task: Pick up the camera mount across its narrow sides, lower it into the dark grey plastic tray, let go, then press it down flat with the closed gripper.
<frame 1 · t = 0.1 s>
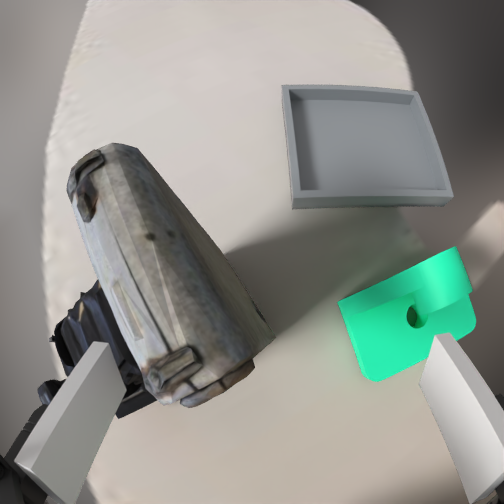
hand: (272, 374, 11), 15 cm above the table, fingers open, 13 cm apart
camera mount: (405, 318, 26), on the table
tray: (362, 147, 31), on the table
vintage camera: (178, 340, 27), on the table
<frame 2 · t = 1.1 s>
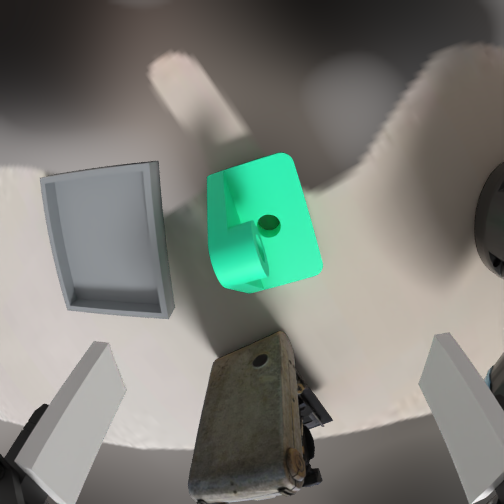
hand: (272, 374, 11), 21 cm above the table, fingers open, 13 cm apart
camera mount: (269, 218, 31), on the table
tray: (108, 240, 33), on the table
vintage camera: (278, 379, 38), on the table
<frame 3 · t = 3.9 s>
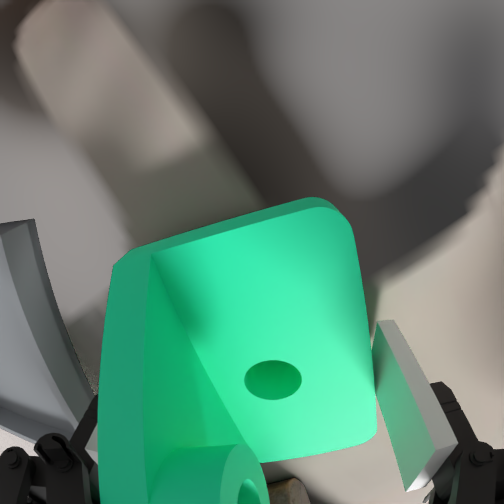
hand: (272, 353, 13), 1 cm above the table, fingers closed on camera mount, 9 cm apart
camera mount: (272, 338, 14), on the table, touching gripper
tray: (4, 344, 15), on the table
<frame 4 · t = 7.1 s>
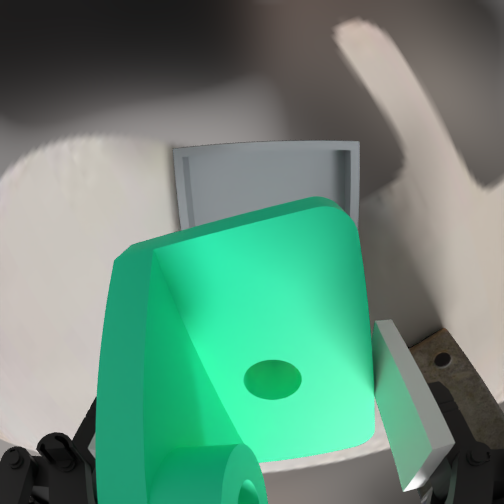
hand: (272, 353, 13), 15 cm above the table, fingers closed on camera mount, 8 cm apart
camera mount: (272, 337, 14), point 14 cm above the table, touching gripper
tray: (270, 237, 27), on the table
vintage camera: (423, 377, 33), on the table
when the fingers open (3 cm above the table, at t = 10.2 s): camera mount drops 2 cm, resting on tray.
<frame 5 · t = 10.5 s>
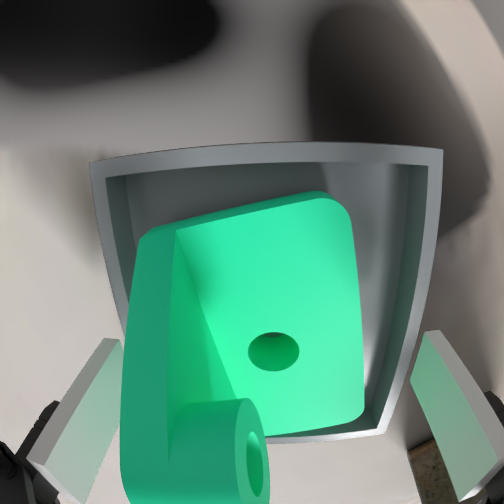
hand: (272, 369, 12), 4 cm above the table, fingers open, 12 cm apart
camera mount: (273, 317, 15), resting on tray
tray: (272, 311, 16), on the table
vintage camera: (458, 449, 21), on the table
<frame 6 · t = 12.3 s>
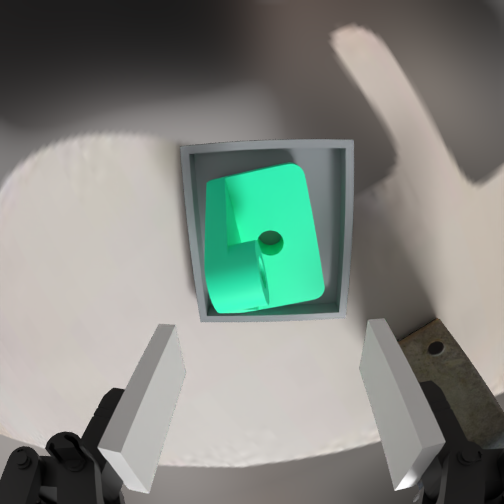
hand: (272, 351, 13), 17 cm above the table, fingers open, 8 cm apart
camera mount: (270, 232, 28), resting on tray
tray: (270, 230, 29), on the table
vintage camera: (418, 368, 34), on the table
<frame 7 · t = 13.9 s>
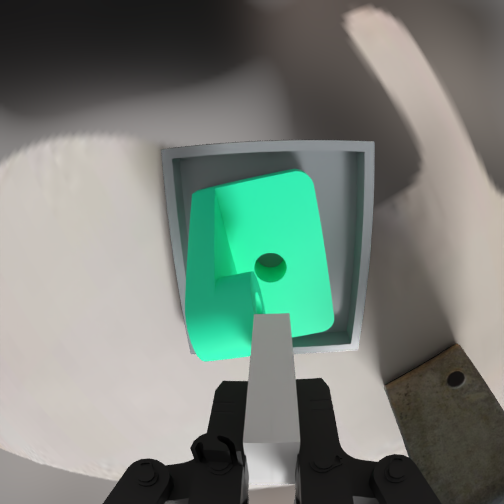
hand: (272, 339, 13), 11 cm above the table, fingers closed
camera mount: (270, 253, 24), resting on tray
tray: (272, 249, 24), on the table
vintage camera: (432, 393, 30), on the table
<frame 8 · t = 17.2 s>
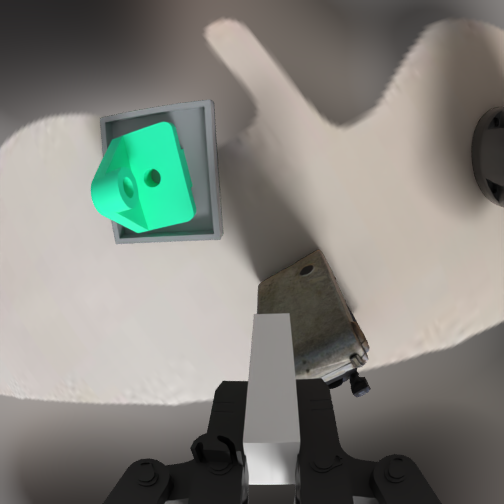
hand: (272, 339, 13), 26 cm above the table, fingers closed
camera mount: (159, 175, 37), resting on tray
tray: (163, 173, 37), on the table
vintage camera: (316, 304, 43), on the table
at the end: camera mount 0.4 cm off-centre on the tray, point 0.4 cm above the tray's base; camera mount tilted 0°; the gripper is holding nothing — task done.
